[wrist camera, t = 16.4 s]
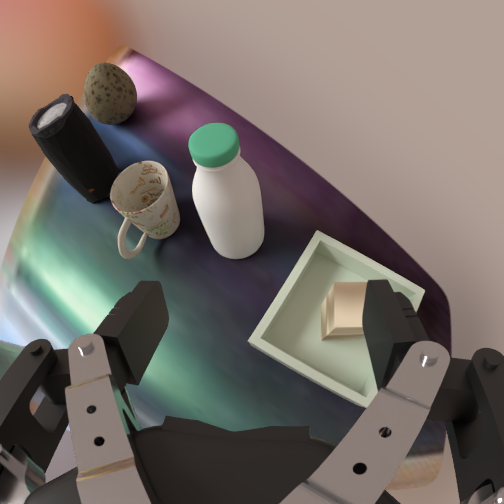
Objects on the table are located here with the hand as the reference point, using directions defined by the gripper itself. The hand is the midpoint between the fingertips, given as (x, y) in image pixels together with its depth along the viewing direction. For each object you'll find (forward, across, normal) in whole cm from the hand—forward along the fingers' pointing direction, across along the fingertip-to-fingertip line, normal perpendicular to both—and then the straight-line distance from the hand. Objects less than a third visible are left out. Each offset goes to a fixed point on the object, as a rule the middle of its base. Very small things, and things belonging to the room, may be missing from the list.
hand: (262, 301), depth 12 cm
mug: (+31, -19, -10) cm, 38 cm away
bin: (+22, +7, -19) cm, 30 cm away
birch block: (+21, +7, -18) cm, 29 cm away
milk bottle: (+31, -7, -10) cm, 34 cm away
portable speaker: (+38, -32, -3) cm, 50 cm away
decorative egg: (+52, -34, +10) cm, 63 cm away
